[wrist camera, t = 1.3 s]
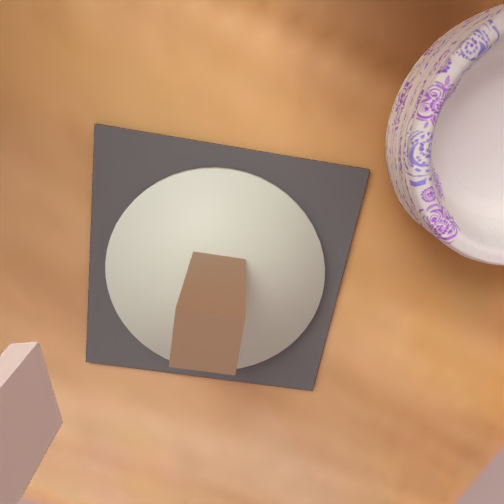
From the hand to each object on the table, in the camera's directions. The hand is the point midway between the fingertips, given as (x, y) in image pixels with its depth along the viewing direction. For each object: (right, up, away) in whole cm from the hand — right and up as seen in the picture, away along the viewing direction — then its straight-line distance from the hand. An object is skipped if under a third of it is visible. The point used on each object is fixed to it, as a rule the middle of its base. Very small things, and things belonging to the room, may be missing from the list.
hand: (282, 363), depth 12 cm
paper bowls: (+15, +12, +20) cm, 28 cm away
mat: (-4, +1, +23) cm, 23 cm away
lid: (-4, +1, +23) cm, 23 cm away
